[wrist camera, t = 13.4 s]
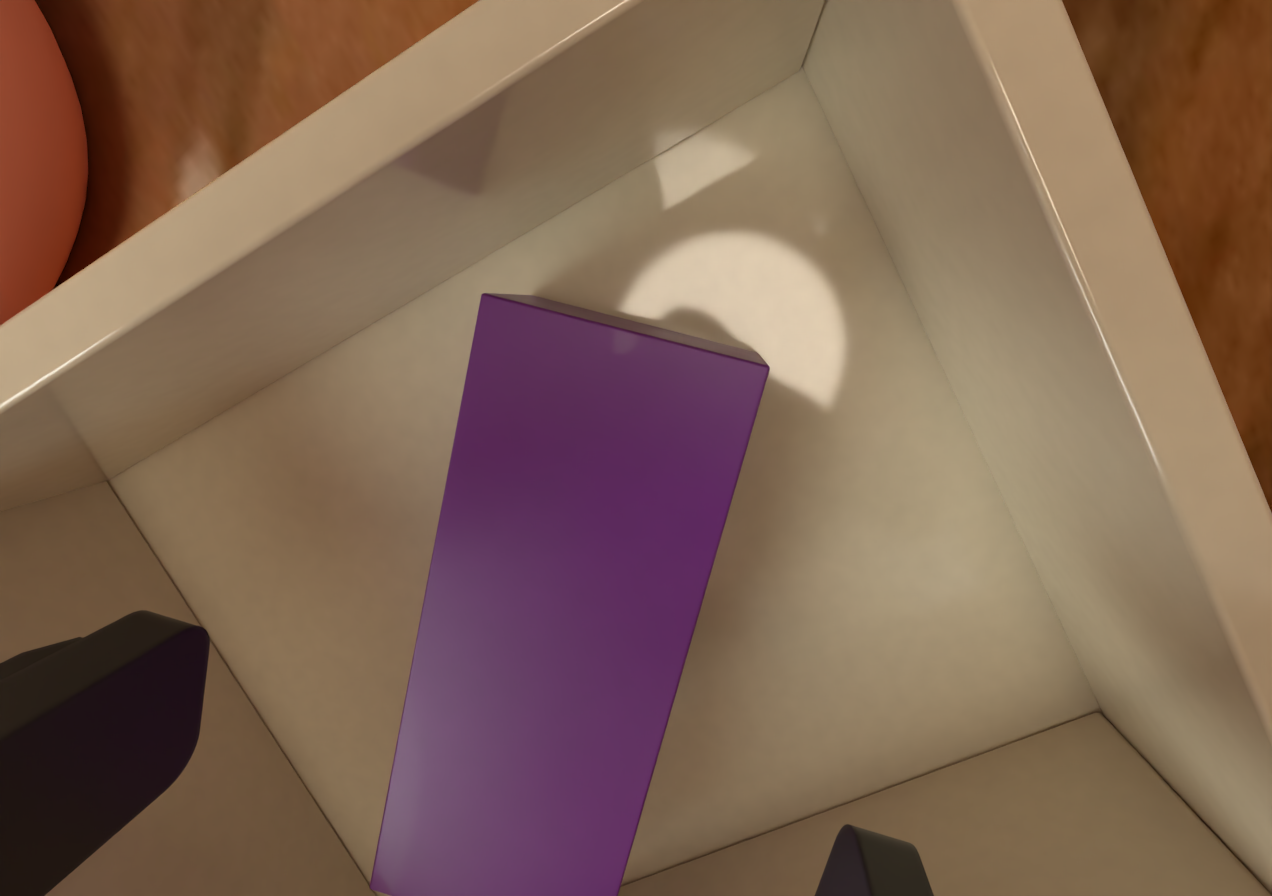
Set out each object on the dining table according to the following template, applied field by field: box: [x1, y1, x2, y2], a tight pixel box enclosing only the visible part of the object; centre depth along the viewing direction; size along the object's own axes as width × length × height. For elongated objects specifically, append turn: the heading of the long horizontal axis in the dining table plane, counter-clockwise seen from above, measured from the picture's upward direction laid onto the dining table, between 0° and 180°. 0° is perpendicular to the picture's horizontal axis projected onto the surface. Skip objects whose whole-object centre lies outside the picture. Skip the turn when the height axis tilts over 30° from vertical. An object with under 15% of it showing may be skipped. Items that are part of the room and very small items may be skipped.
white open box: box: [0, 0, 1272, 896], centre depth 12 cm, size 18×15×7 cm
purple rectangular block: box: [370, 293, 770, 896], centre depth 13 cm, size 11×4×3 cm, turn 166°
